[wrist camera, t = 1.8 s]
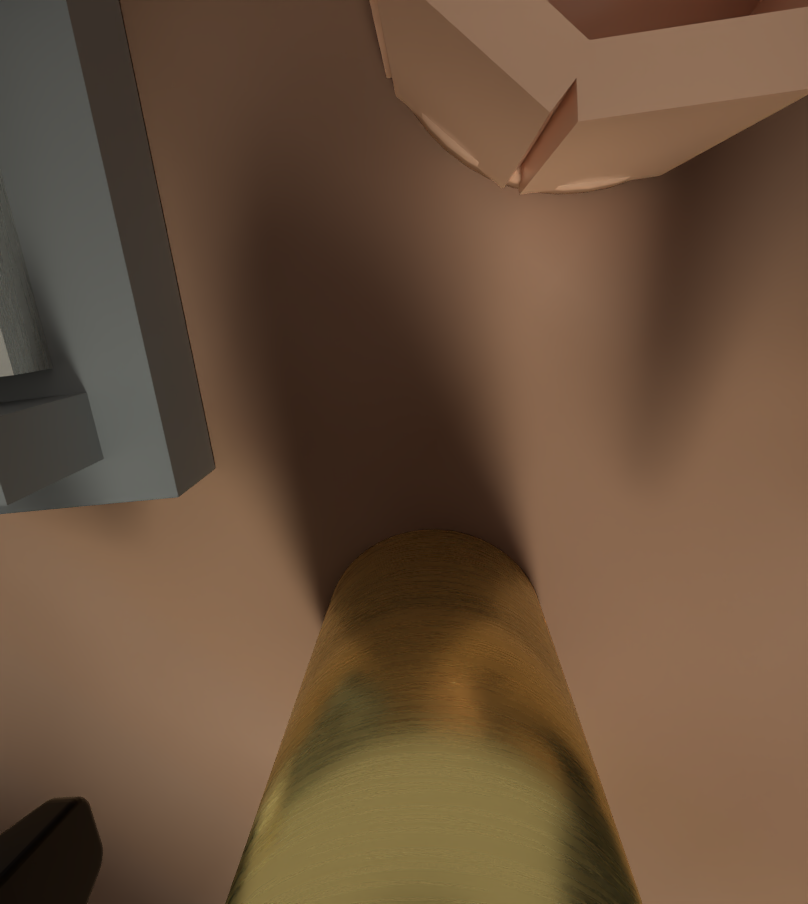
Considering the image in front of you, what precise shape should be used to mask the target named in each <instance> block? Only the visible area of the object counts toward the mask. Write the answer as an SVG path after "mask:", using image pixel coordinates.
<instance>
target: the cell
mask: <svg viewBox="0 0 808 904" xmlns="http://www.w3.org/2000/svg"><path fill="white" fill-rule="evenodd" d="M225 904H642V901H641V898H640V895H639V892H638V889H637V886H636V884H635V881H634V878H633V875H632V872H631V869H630V866H629V863H628V860H627V857H626V854H625V851H624V849H623V846H622V843H621V840H620V837H619V834H618V831H617V828H616V825H615V822H614V819H613V816H612V813H611V811H610V808H609V805H608V802H607V799H606V796H605V793H604V790H603V787H602V784H601V781H600V778H599V775H598V773H597V770H596V767H595V764H594V761H593V758H592V755H591V752H590V749H589V746H588V743H587V740H586V737H585V735H584V732H583V729H582V726H581V723H580V720H579V717H578V714H577V711H576V708H575V705H574V702H573V699H572V697H571V694H570V691H569V688H568V685H567V682H566V679H565V676H564V673H563V670H562V667H561V664H560V662H559V659H558V656H557V653H556V650H555V647H554V644H553V641H552V638H551V635H550V632H549V629H548V626H547V624H546V621H545V618H544V615H543V612H542V609H541V606H540V603H539V600H538V597H537V595H536V593H535V590H534V588H533V586H532V584H531V583H530V581H529V579H528V578H527V576H526V575H525V573H524V572H523V571H522V570H521V569H520V567H519V566H518V565H517V564H516V563H515V562H514V561H513V560H512V559H511V558H510V557H508V556H507V555H506V554H505V553H504V552H502V551H501V550H499V549H498V548H496V547H495V546H493V545H491V544H489V543H487V542H485V541H483V540H481V539H479V538H476V537H473V536H470V535H468V534H464V533H459V532H455V531H448V530H418V531H412V532H407V533H403V534H399V535H396V536H393V537H391V538H388V539H386V540H383V541H381V542H379V543H378V544H376V545H374V546H372V547H371V548H369V549H368V550H366V551H365V552H364V553H363V554H361V555H360V556H359V557H358V558H357V559H356V560H355V561H354V562H353V563H352V564H351V565H350V566H349V567H348V568H347V570H346V571H345V572H344V574H343V575H342V577H341V578H340V580H339V582H338V584H337V586H336V588H335V590H334V593H333V596H332V598H331V601H330V604H329V607H328V610H327V613H326V615H325V618H324V621H323V624H322V627H321V630H320V633H319V636H318V639H317V641H316V644H315V647H314V650H313V653H312V656H311V659H310V662H309V664H308V667H307V670H306V673H305V676H304V679H303V682H302V685H301V687H300V690H299V693H298V696H297V699H296V702H295V705H294V708H293V710H292V713H291V716H290V719H289V722H288V725H287V728H286V731H285V734H284V736H283V739H282V742H281V745H280V748H279V751H278V754H277V757H276V759H275V762H274V765H273V768H272V771H271V774H270V777H269V780H268V782H267V785H266V788H265V791H264V794H263V797H262V800H261V803H260V806H259V808H258V811H257V814H256V817H255V820H254V823H253V826H252V829H251V831H250V834H249V837H248V840H247V843H246V846H245V849H244V852H243V854H242V857H241V860H240V863H239V866H238V869H237V872H236V875H235V877H234V880H233V883H232V886H231V889H230V892H229V895H228V898H227V901H226V903H225Z"/></svg>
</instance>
